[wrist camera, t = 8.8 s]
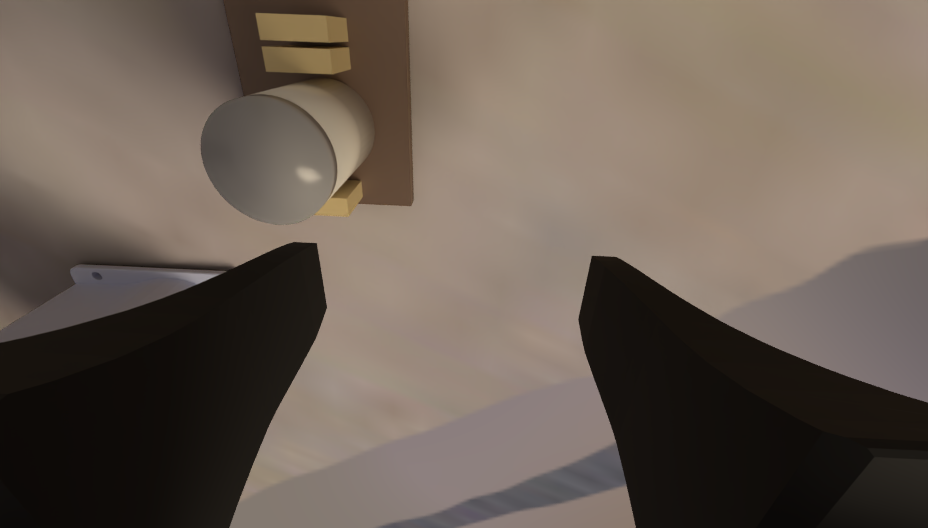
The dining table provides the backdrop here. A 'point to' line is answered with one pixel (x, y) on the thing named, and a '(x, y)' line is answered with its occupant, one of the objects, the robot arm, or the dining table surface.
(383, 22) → the fuse holder
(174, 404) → the robot arm
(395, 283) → the dining table surface
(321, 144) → the cylinder
